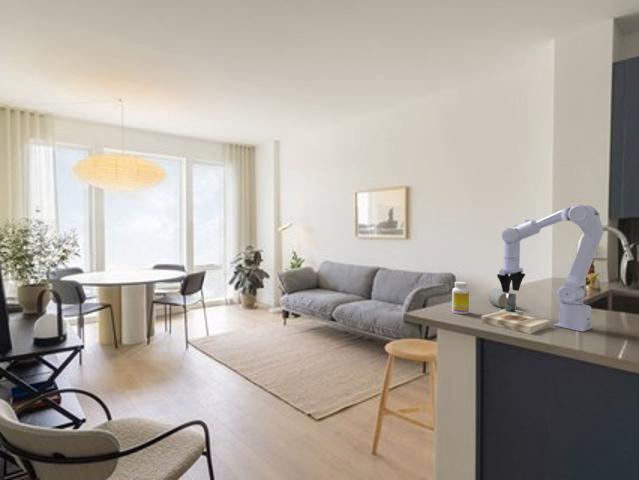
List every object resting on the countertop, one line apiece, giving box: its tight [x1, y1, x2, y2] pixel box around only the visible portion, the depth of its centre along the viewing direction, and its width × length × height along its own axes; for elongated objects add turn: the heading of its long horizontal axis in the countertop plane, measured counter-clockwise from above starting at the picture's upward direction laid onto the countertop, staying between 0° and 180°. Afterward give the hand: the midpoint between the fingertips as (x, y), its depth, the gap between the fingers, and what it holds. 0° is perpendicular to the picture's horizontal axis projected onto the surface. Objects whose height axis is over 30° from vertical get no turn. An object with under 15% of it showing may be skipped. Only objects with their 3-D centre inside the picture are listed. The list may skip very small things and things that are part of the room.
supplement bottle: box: [451, 281, 470, 315], centre depth 157 cm, size 7×7×13 cm
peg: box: [505, 292, 517, 312], centre depth 151 cm, size 4×4×7 cm
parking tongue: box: [497, 308, 525, 316], centre depth 151 cm, size 7×7×2 cm
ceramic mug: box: [488, 288, 506, 309], centre depth 168 cm, size 11×8×8 cm
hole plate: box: [480, 311, 550, 335], centre depth 138 cm, size 18×14×3 cm
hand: (510, 291), depth 151 cm, fingers open, 7 cm apart
